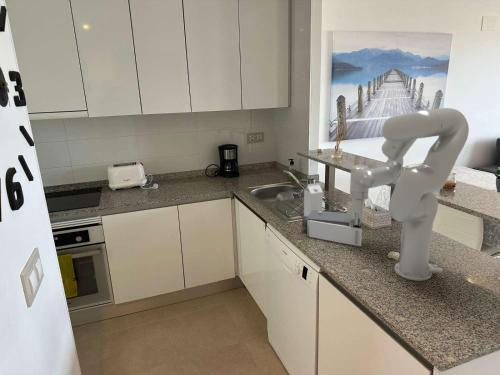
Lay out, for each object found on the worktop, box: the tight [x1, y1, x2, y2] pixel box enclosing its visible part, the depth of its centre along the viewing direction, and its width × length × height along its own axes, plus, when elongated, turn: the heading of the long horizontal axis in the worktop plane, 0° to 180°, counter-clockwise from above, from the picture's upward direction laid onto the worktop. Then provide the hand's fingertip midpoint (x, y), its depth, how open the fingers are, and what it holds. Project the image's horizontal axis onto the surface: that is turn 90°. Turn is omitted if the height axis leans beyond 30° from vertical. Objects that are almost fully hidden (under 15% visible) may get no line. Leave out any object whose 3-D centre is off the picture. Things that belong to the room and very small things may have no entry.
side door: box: [306, 220, 363, 247], centre depth 154 cm, size 25×2×8 cm, turn 60°
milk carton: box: [303, 182, 324, 217], centre depth 182 cm, size 7×7×19 cm
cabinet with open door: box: [301, 210, 353, 230], centre depth 163 cm, size 22×12×10 cm, turn 69°
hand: (356, 233), depth 152 cm, fingers closed
